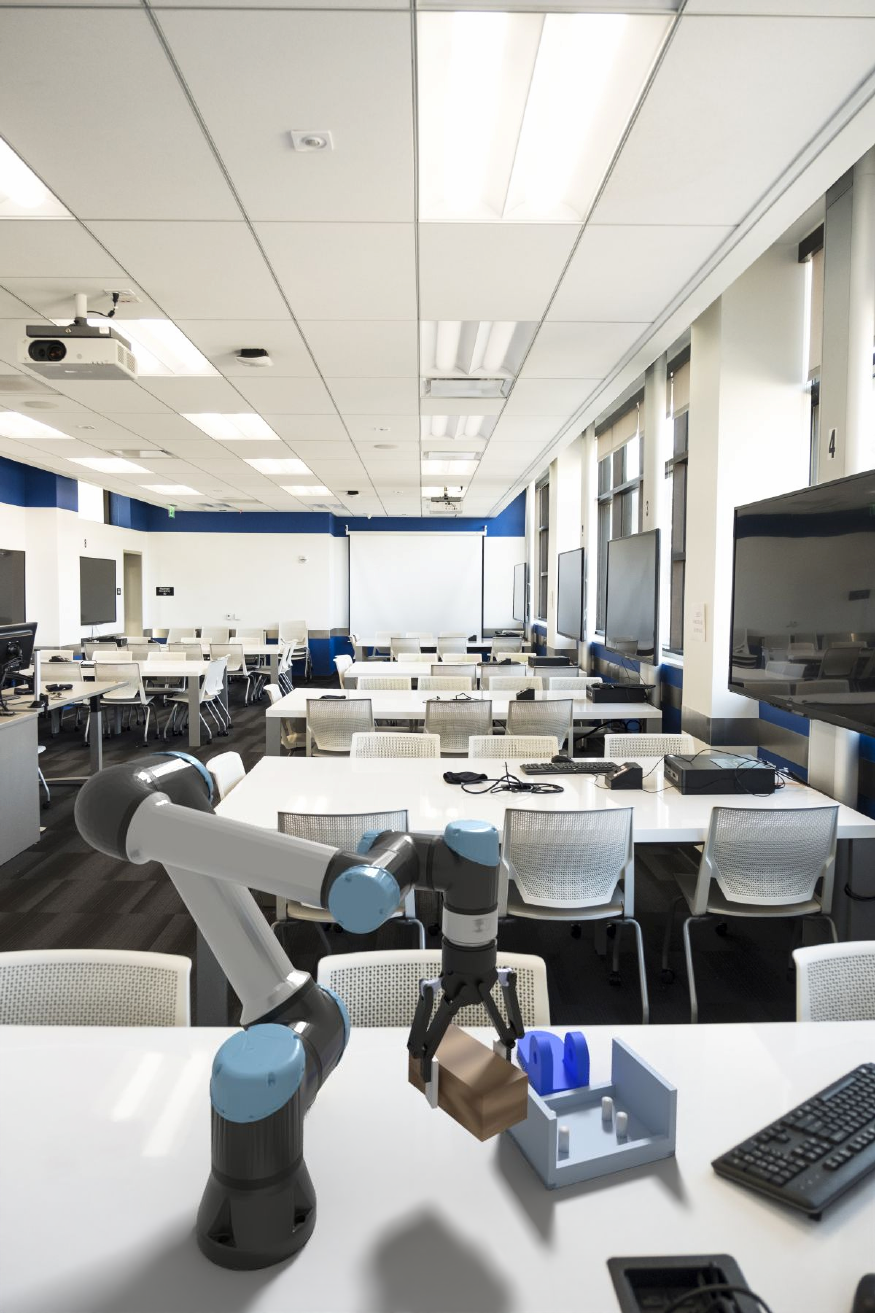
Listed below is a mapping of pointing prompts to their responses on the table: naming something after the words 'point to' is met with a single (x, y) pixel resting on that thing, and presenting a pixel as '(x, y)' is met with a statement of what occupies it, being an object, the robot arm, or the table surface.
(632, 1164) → the frame
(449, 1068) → the brown wooden block
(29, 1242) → the table surface
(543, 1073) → the bracket
